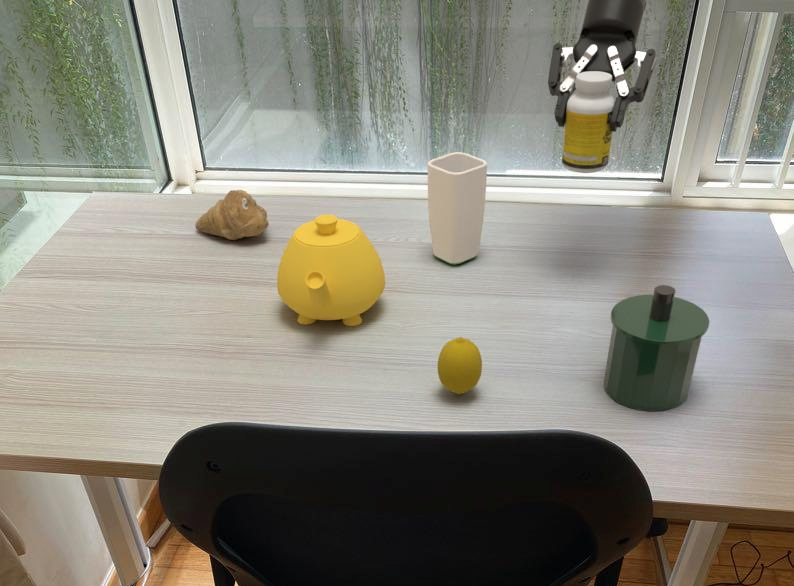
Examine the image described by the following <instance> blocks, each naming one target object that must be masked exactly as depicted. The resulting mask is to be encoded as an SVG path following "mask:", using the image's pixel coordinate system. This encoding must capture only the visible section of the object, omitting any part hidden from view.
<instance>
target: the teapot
mask: <svg viewBox="0 0 794 586" xmlns="http://www.w3.org/2000/svg"><path fill="white" fill-rule="evenodd" d="M276 278H277V280H276V287H277V293H278V296H279V297H280V299H281V301H282V302H283V303H284V304H285V305H286V306H287V307H288V308H290V309H291V310H292V311H294V312H295V313H296V314H298V318H297V320H296V321H297V323H298V324H300V325H311V324H314V323H316V321H317V320H320V321H336V320H342V323H343V325H345V326H348V327H354V326H355V327H356V326H359V325H360V324H362V322H363V319H362V317H361V314H362V313H364V312H366V311H368V310H369V309H370V308H371V307H372V306H373V305H374V304H375V303H376V302H377V301H378V300H379V299H380V297H382V294H383V293H384V290H385V287H386V275H385V271H384V266H383V262H382V260H381V258H380V256H379V254H378V251H377V249H376V248H375V246H374V245H373V243H372V242H371V240H370V239H369V237H368V236H367V235H366V234H365V232H364V231H363V230H362V228H361V227H360V226H358V225H357V224H356V223H354V222H352V221H350V220H347V219H342V218H338V217H337V216H336V215H334V214H326V213H325V214H320V215H318V216H316V217H315V218H314V220H311V221H308V222H305V223H303V224H301V225H299V226H298V228H296V229H295V231H294V232H293V233H292V234H291V237H290V238H289V240H288V242H287V244H286V246H285V248H284V251H283V253H282V255H281V258H280V261H279V263H278V269H277V277H276Z"/></svg>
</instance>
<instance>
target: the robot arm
mask: <svg viewBox="0 0 794 586" xmlns="http://www.w3.org/2000/svg"><path fill="white" fill-rule="evenodd" d="M646 8H647V0H588V2H587V6H586V10H585V13H584V19H583V22H582V25H581V30H580V34H579V38H578V40H577V41H576V43H575V44H574V46H563V45H562V43H560V42H556V43H555V44H554V45H553V46H552V52H551V57H550V65H549V72H548V77H547V78H548V79H547V85H548V90H549V94H550V95H551V96H552V97H553V96H554V97H557V100H556V104H555V108H554V112H553V113H554V119H555V123H557V126H558V127H559V128H561V127H562V128H565V120H566V108H567V102H568V100H569V98H570V97H571V96H572V95H574V94H576V93H577V89H576V88H575V82H576V76H577V75H578V74H579V73H582V72H587V71H601V72H606V73H609V74H611V75H612V84H613V86H614V89H615V92H616V94H617V96H616V97H615V105H614V109H613V113H612V117H611V121H610V131H612V133H615V132H617V129H618V128H619V129H620V128H621V127H622V126H623V125H624V121H625V116H626V112H627V109H628V106H629V105H630V104H631V103H642V102H643V101H644V99H645V96H646V93H647V90H648V87H649V85H650V81H651V78H652V75H653V72H654V70H655V67H656V59H657V54H656V50H655V49H654V48H648V50H646V51H641V50H640V51H639V50H637V47H636V44H637V40H638V36H639V32H640V28H641V25H642V19H643V16H644V12H645V11H646ZM572 58H573V60H574V62H575V65H574V66H573V67H572V68H571V70H570V71H569V74H568V76H567V77H566V78H565V79H564V81H562V82H561V78H562V71H563V67H566V66H567V65H568V63H569V61H570V60H571V59H572ZM635 62H636V64H637V70H638V71H639V73H638V75H637V77H636V82H635V85H634V86H631V87H629V86H628V83H627V80H626V75H625V72H626V71H627V70H628V69H629V68H630V67H632V65H633V64H634V63H635Z"/></svg>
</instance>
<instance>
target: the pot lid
mask: <svg viewBox="0 0 794 586" xmlns="http://www.w3.org/2000/svg"><path fill="white" fill-rule="evenodd" d="M676 292H677V290H676V288H675V287H673V286H670V285H667V284H662V285H661V284H660V285H657V286H655V287H654V289H653V294H652V293H651V294H649V293H648V294H639V295H634V296H633V295H632V296H630V297H626V298H625V299H622V300H620V301H619V302H617V303H616V304H614V306H613V308H612V309H611V312H610V322H611V324H612V327H613V326H614V327H615V328H616V329H617V330H618V331H619V332H621V333H622V334H624V335H626V336H627V337H630V338H632V339H635V340H637V341H641V342H645V343H650V344H657V345H678V344H684V343H689V342H692V341H694V340H697V339H699V338H700V337H702V338H703V336H704V335H705V334H706V333H707V332H708V329H709V327H710V318H709V315H708V313H706V311H705V310H704V309H702V308H701V307H700V306H699V305H697V304H695V303H693V302H692V301H689V300H687V299H684V298H681V297H677V296H675V295H676Z"/></svg>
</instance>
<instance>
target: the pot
mask: <svg viewBox="0 0 794 586" xmlns="http://www.w3.org/2000/svg"><path fill="white" fill-rule="evenodd" d="M702 338H703V336H702V337H700V338H699V339H697V340H694V341H692V342H689V343H684V344H678V345H657V344H650V343H645V342H641V341H637V340H635V339H632V338H630V337H627V336H626V335H624V334H622V333H621V332H619V331H618V330H617V329H616V328H615V327H614V326H613V325H612V328H611V333H610V340H609V346H608V353H607V359H606V366H605V371H604V377H603V383H604V384H603V387H604V390H605V393H606V394H607V395H608V396H609V397H610V399H612V400H613V401H614V402H616V403H618V404H619V405H622V406H624V407H627V408H629V409H633V410H637V411H644V412H661V411H667V410H671V409H675V408H677V407H678V406H680V405H682V404H683V403H684V402H685V401H686V400H687V398H688V396H689V392H690V388H691V384H692V380H693V376H694V371H695V368H696V364H697V359H698V354H699V349H700V346H701V342H702Z"/></svg>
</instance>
